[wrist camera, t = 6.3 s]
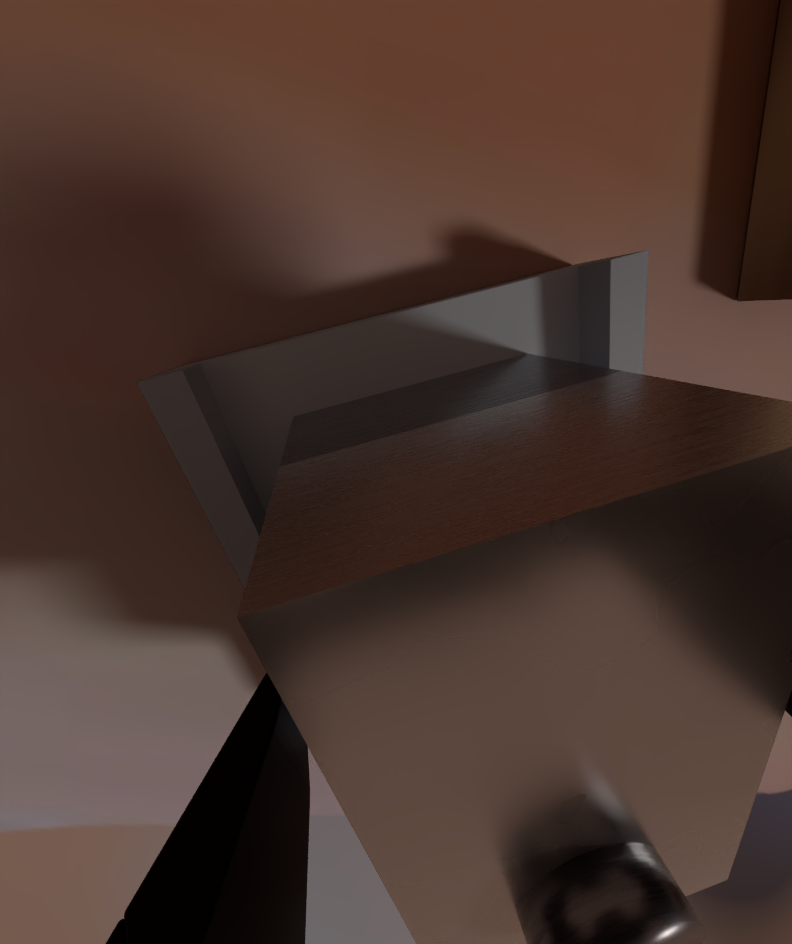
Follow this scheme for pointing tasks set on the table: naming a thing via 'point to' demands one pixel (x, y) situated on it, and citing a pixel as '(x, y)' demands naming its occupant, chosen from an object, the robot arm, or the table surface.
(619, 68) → the table surface
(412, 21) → the table surface
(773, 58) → the stand
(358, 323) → the cabinet frame
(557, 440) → the grey drawer
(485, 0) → the table surface
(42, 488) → the table surface
